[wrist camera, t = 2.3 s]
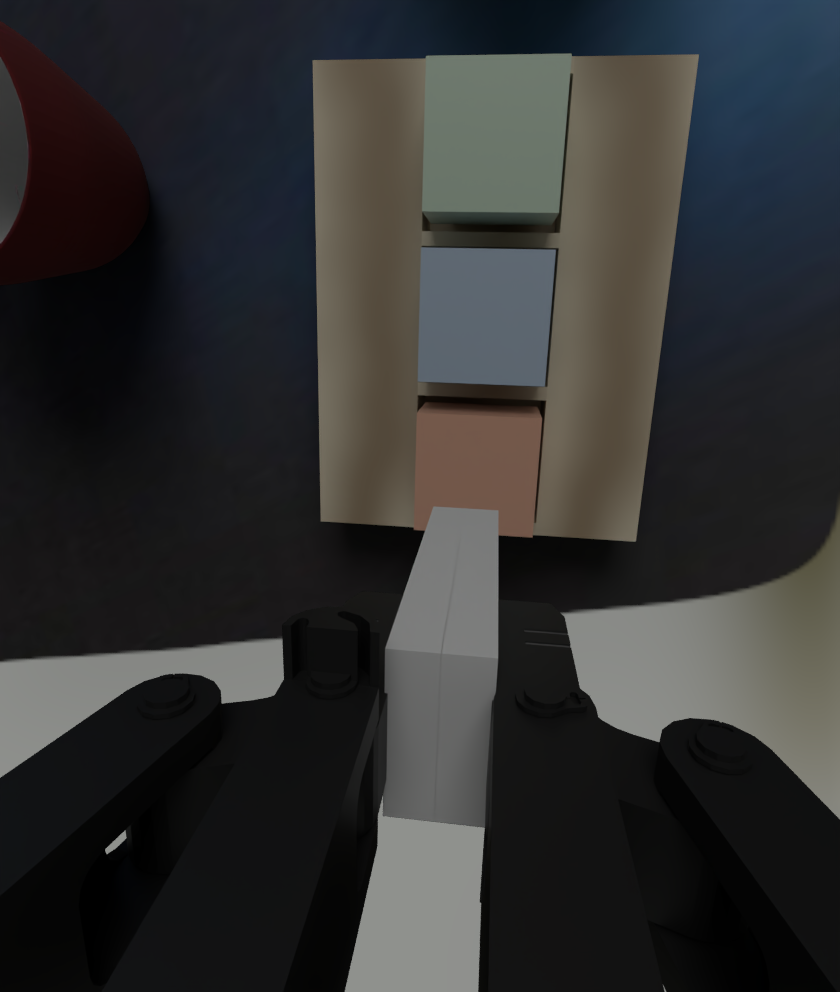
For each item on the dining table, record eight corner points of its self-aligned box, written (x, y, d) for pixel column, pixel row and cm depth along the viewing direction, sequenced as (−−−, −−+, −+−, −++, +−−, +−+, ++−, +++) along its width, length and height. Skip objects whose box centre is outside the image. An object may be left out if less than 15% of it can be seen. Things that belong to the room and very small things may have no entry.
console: (340, 498, 30) (320, 521, 27) (336, 92, 25) (312, 60, 22) (620, 516, 29) (635, 541, 25) (671, 89, 24) (698, 54, 21)
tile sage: (431, 223, 24) (422, 211, 21) (435, 89, 22) (426, 55, 19) (551, 225, 23) (558, 212, 20) (562, 87, 22) (571, 53, 19)
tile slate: (427, 374, 25) (417, 381, 22) (430, 255, 24) (420, 247, 21) (539, 378, 25) (544, 386, 22) (548, 257, 23) (555, 249, 20)
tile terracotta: (423, 506, 27) (413, 529, 24) (425, 401, 25) (416, 412, 22) (528, 513, 26) (532, 537, 23) (537, 406, 25) (542, 418, 22)
